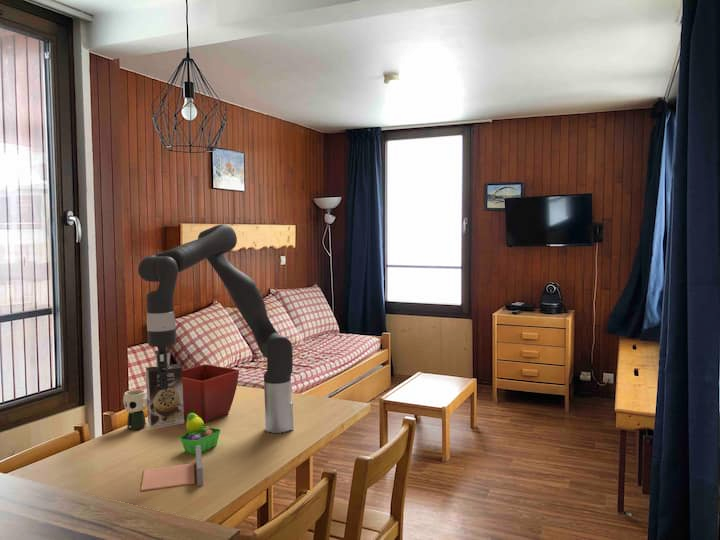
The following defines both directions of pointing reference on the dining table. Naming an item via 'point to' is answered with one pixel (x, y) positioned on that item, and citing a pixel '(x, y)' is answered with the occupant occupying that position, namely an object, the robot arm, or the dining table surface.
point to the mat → (168, 477)
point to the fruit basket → (198, 435)
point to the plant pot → (208, 391)
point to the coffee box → (165, 397)
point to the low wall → (199, 465)
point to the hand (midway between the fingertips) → (164, 385)
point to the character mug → (135, 408)
